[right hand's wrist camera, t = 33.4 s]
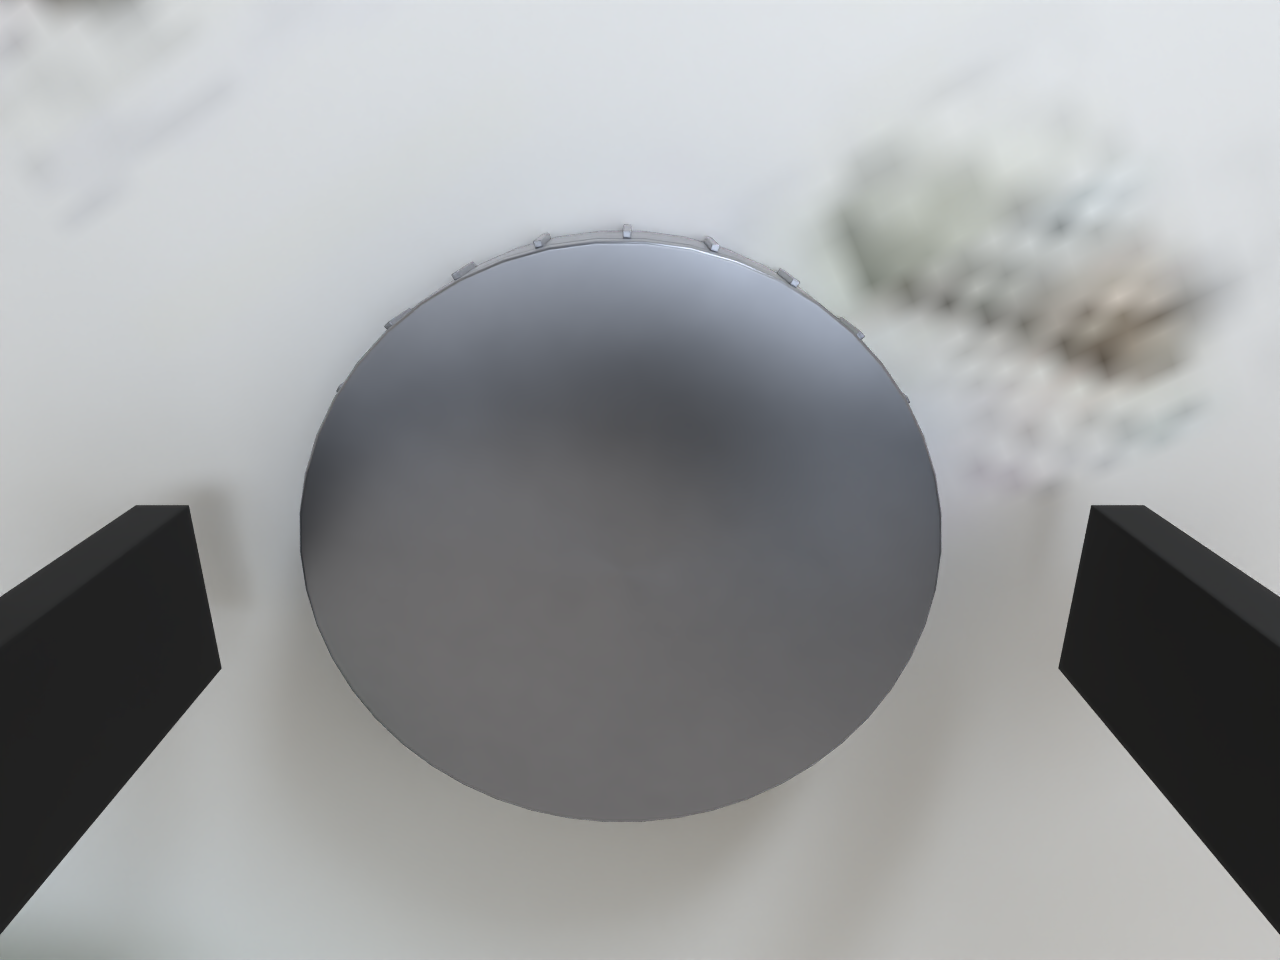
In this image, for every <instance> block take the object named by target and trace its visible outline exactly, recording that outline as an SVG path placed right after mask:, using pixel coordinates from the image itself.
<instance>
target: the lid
mask: <svg viewBox="0 0 1280 960" xmlns="http://www.w3.org/2000/svg"><path fill="white" fill-rule="evenodd" d="M533 243H534V244H530V245H526V246H523V247H519V248H517V249H514V250H512V251H510V252H507V253H505V254H503V255H500V256H498V257H496V258H493V259H491V260H489V261H487V262H484V263H482V264H480V265H478V266H475V264H474V262H471V263H469V264H468V265H466V266H464V267H463V268H461V269H460V270H458V271H456V272H455V273H453V274H452V277H453V279H454V281H452V282H450V283H449V284H447V285H445V286H444V287H442V288H441V289H439V290H438V291H436V292H435V293H433V294H432V295H430V296H429V297H428V298H426V299H424V300H423V301H421V302H420V303H419V304H418V305H416V306H415V307H414V308H413V309H412V310H411V309H410V308H409V309H407V310H406V311H404V312H403V313H401V314H400V315H398V316H397V317H395V318H394V319H392V320H391V321H389V322H388V323H387V324H386V325H385V326H384V327H385V328H386V329H387V330H386V331H385V333H384V334H383V335H382V336H381V337H380V338H379V339H378V340H377V341H376V342H375V344H374V345H373V346H372V347H371V348H370V349H369V350H368V351H367V352H366V354H365V355H364V356H363V357H362V358H361V359H360V360H359V361H358V362H357V364H356V365H355V367H354V368H353V370H352V371H351V373H350V374H349V376H348V377H347V379H346V380H345V382H344V383H342V384H341V385H340V386H339V387H338V389H337V394H336V395H335V397H334V399H333V401H332V403H331V405H330V407H329V409H328V412H327V414H326V416H325V418H324V420H323V422H322V424H321V427H320V429H319V431H318V433H317V435H316V439H315V442H314V445H313V449H312V452H311V455H310V459H309V462H308V466H307V469H306V472H305V478H304V486H303V493H302V500H301V507H300V553H301V560H302V566H303V573H304V579H305V586H306V591H307V594H308V597H309V600H310V604H311V607H312V610H313V614H314V617H315V620H316V624H317V626H318V628H319V631H320V633H321V635H322V637H323V639H324V641H325V644H326V646H327V648H328V650H329V652H330V654H331V657H332V659H333V660H334V662H335V664H336V665H337V667H338V668H339V670H340V671H341V673H342V675H343V676H344V678H345V679H346V681H347V683H348V684H349V686H350V687H351V689H352V690H353V692H354V693H355V694H356V695H357V696H358V698H359V699H360V700H361V701H362V702H363V704H364V705H365V706H366V707H367V709H368V710H369V711H370V712H371V713H372V715H373V716H374V717H375V718H376V719H377V720H378V721H379V722H380V723H381V724H382V725H383V726H384V727H385V728H386V729H387V730H388V731H389V732H390V733H392V734H393V735H394V736H395V737H396V738H397V739H398V740H399V741H400V742H401V743H402V744H403V745H405V746H406V747H407V748H409V749H410V750H411V751H413V752H414V753H415V754H417V755H418V756H419V757H421V758H422V759H423V760H425V761H426V762H427V763H429V764H430V765H431V766H433V767H435V768H436V769H438V770H440V771H442V772H443V773H445V774H447V775H448V776H450V777H452V778H454V779H455V780H457V781H459V782H460V783H462V784H464V785H466V786H468V787H471V788H473V789H475V790H477V791H480V792H482V793H484V794H486V795H489V796H491V797H493V798H495V799H498V800H501V801H504V802H507V803H510V804H513V805H517V806H520V807H523V808H526V809H529V810H532V811H537V812H542V813H546V814H551V815H556V816H561V817H566V818H573V819H583V820H592V821H602V822H643V821H652V820H662V819H671V818H679V817H684V816H689V815H693V814H698V813H703V812H707V811H712V810H716V809H719V808H722V807H725V806H728V805H731V804H734V803H737V802H740V801H743V800H746V799H749V798H751V797H754V796H756V795H758V794H760V793H762V792H765V791H767V790H769V789H771V788H773V787H776V786H778V785H780V784H782V783H784V782H786V781H787V780H789V779H791V778H792V777H794V776H796V775H797V774H799V773H801V772H802V771H804V770H806V769H807V768H809V767H811V766H813V765H814V764H815V763H817V762H818V761H819V760H821V759H822V758H823V757H824V756H826V755H827V754H828V753H830V752H831V751H832V750H834V749H835V748H836V747H838V746H839V745H840V744H842V743H843V742H844V741H845V740H846V739H847V738H848V737H849V736H850V735H851V734H852V733H853V732H854V731H855V730H856V729H857V728H858V727H859V726H860V725H861V724H862V723H863V722H864V721H866V720H867V719H868V718H869V716H870V715H871V714H872V713H873V711H874V710H875V709H876V708H877V706H878V705H879V704H880V703H881V701H882V700H883V699H884V698H885V697H886V695H887V694H888V693H889V692H890V690H891V689H892V687H893V686H894V684H895V682H896V681H897V679H898V678H899V676H900V674H901V673H902V671H903V669H904V668H905V666H906V665H907V663H908V661H909V660H910V658H911V656H912V654H913V651H914V649H915V647H916V645H917V642H918V640H919V638H920V636H921V633H922V631H923V629H924V627H925V624H926V621H927V617H928V614H929V611H930V607H931V604H932V600H933V597H934V593H935V590H936V584H937V577H938V570H939V563H940V556H941V508H940V502H939V495H938V488H937V481H936V475H935V471H934V468H933V465H932V461H931V458H930V455H929V451H928V448H927V445H926V442H925V438H924V435H923V433H922V431H921V429H920V427H919V425H918V423H917V421H916V419H915V416H914V414H913V412H912V410H911V408H910V406H909V404H908V403H910V401H909V399H908V397H907V396H906V395H905V394H903V393H902V392H901V390H900V389H899V387H898V386H897V384H896V383H895V381H894V380H893V378H892V377H891V375H890V374H889V373H888V371H887V370H886V368H885V367H884V365H883V364H882V362H881V361H880V360H879V359H878V358H877V357H876V356H875V355H874V354H873V353H872V351H871V350H870V349H869V348H868V347H867V346H866V345H865V344H864V343H863V342H862V340H861V339H863V338H864V337H865V336H864V335H863V334H862V333H861V331H859V330H858V329H857V328H855V327H854V326H853V325H852V324H850V323H849V322H848V321H846V320H845V319H844V318H842V317H841V318H840V319H838V318H837V317H835V316H834V315H833V314H832V313H830V312H829V311H828V310H827V309H826V308H824V307H823V306H822V305H821V304H820V303H818V302H817V301H816V300H814V299H813V298H812V297H811V296H809V295H808V294H807V293H806V292H804V291H803V290H802V289H801V288H799V287H798V285H799V283H800V282H799V281H798V280H797V279H795V278H794V277H793V276H791V275H790V274H789V273H787V272H786V271H784V270H783V269H781V268H780V269H779V271H778V273H775V272H774V271H772V270H770V269H769V268H767V267H766V266H764V265H762V264H760V263H757V262H755V261H753V260H751V259H748V258H746V257H744V256H741V255H739V254H737V253H735V252H732V251H730V250H728V249H725V248H722V247H720V246H719V245H718V243H717V242H716V241H715V240H714V239H713V238H710V237H707V236H706V237H705V240H704V242H701V241H697V240H694V239H690V238H687V237H681V236H674V235H667V234H660V233H653V232H646V231H631V225H624V227H623V231H597V232H589V233H582V234H574V235H567V236H559V237H555V238H552V239H550V235H549V233H546V234H542V235H541V236H540V237H539V238H537V239H536V240H535V241H534V242H533Z"/></svg>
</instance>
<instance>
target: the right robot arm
mask: <svg viewBox="0 0 1280 960" xmlns="http://www.w3.org/2000/svg"><path fill="white" fill-rule="evenodd" d="M220 670H221V663H220V658H219V653H218V648H217V643H216V638H215V633H214V628H213V623H212V619H211V614H210V609H209V604H208V599H207V594H206V589H205V584H204V579H203V574H202V569H201V564H200V559H199V554H198V549H197V544H196V539H195V534H194V529H193V524H192V519H191V514H190V509H189V505H136V506H134V507H133V508H131V509H130V510H128V511H127V512H125V513H124V514H122V515H121V516H120V517H118V518H117V519H115V520H114V521H112V522H111V523H109V524H108V525H106V526H105V527H103V528H102V529H100V530H99V531H97V532H96V533H94V534H93V535H91V536H90V537H88V538H87V539H85V540H84V541H82V542H81V543H80V544H78V545H77V546H75V547H74V548H72V549H71V550H69V551H68V552H66V553H65V554H63V555H62V556H60V557H59V558H57V559H56V560H54V561H53V562H51V563H50V564H48V565H47V566H45V567H44V568H43V569H41V570H40V571H38V572H37V573H35V574H34V575H32V576H31V577H29V578H28V579H26V580H25V581H23V582H22V583H20V584H19V585H17V586H16V587H14V588H13V589H11V590H10V591H8V592H7V593H5V594H4V595H3V596H1V597H0V934H1V933H2V932H3V931H4V929H5V928H6V927H7V926H8V925H9V923H10V922H11V921H12V920H13V918H14V917H15V916H16V915H17V914H18V912H19V911H20V910H21V909H22V908H23V906H24V905H25V904H26V903H27V902H28V900H29V899H30V898H31V897H32V896H33V894H34V893H35V892H36V891H37V890H38V888H39V887H40V886H41V885H42V884H43V882H44V881H45V880H46V879H47V878H48V876H49V875H50V874H51V873H52V872H53V870H54V869H55V868H56V867H57V866H58V864H59V863H60V862H61V861H62V860H63V858H64V857H65V856H66V855H67V854H68V852H69V851H70V850H71V849H72V848H73V846H74V845H75V844H76V843H77V842H78V840H79V839H80V838H81V837H82V836H83V834H84V833H85V832H86V831H87V829H88V828H89V827H90V826H91V825H92V823H93V822H94V821H95V820H96V819H97V817H98V816H99V815H100V814H101V813H102V811H103V810H104V809H105V808H106V807H107V805H108V804H109V803H110V802H111V801H112V799H113V798H114V797H115V796H116V795H117V793H118V792H119V791H120V790H121V789H122V787H123V786H124V785H125V784H126V783H127V781H128V780H129V779H130V778H131V777H132V775H133V774H134V773H135V772H136V771H137V769H138V768H139V767H140V766H141V765H142V763H143V762H144V761H145V760H146V759H147V757H148V756H149V755H150V754H151V753H152V751H153V750H154V749H155V748H156V747H157V745H158V744H159V743H160V742H161V740H162V739H163V738H164V737H165V736H166V734H167V733H168V732H169V731H170V730H171V728H172V727H173V726H174V725H175V724H176V722H177V721H178V720H179V719H180V718H181V716H182V715H183V714H184V713H185V712H186V710H187V709H188V708H189V707H190V706H191V704H192V703H193V702H194V701H195V700H196V698H197V697H198V696H199V695H200V694H201V692H202V691H203V690H204V689H205V688H206V686H207V685H208V684H209V683H210V682H211V680H212V679H213V678H214V677H215V676H216V674H217V673H218V672H219V671H220ZM1059 670H1060V671H1061V672H1062V673H1063V674H1064V676H1065V677H1066V678H1067V679H1068V680H1069V682H1070V683H1071V684H1072V685H1073V686H1074V688H1075V689H1076V690H1077V691H1078V692H1079V694H1080V695H1081V696H1082V697H1083V698H1084V700H1085V701H1086V702H1087V703H1088V704H1089V706H1090V707H1091V708H1092V709H1093V710H1094V712H1095V713H1096V714H1097V715H1098V716H1099V718H1100V719H1101V720H1102V721H1103V722H1104V724H1105V725H1106V726H1107V727H1108V728H1109V730H1110V731H1111V732H1112V733H1113V734H1114V736H1115V737H1116V738H1117V739H1118V740H1119V742H1120V743H1121V744H1122V745H1123V747H1124V748H1125V749H1126V750H1127V751H1128V753H1129V754H1130V755H1131V756H1132V757H1133V759H1134V760H1135V761H1136V762H1137V763H1138V765H1139V766H1140V767H1141V768H1142V769H1143V771H1144V772H1145V773H1146V774H1147V775H1148V777H1149V778H1150V779H1151V780H1152V781H1153V783H1154V784H1155V785H1156V786H1157V787H1158V789H1159V790H1160V791H1161V792H1162V793H1163V795H1164V796H1165V797H1166V798H1167V799H1168V801H1169V802H1170V803H1171V804H1172V805H1173V807H1174V808H1175V809H1176V810H1177V811H1178V813H1179V814H1180V815H1181V816H1182V817H1183V819H1184V820H1185V821H1186V822H1187V823H1188V825H1189V826H1190V827H1191V828H1192V829H1193V831H1194V832H1195V833H1196V834H1197V836H1198V837H1199V838H1200V839H1201V840H1202V842H1203V843H1204V844H1205V845H1206V846H1207V848H1208V849H1209V850H1210V851H1211V852H1212V854H1213V855H1214V856H1215V857H1216V858H1217V860H1218V861H1219V862H1220V863H1221V864H1222V866H1223V867H1224V868H1225V869H1226V870H1227V872H1228V873H1229V874H1230V875H1231V876H1232V878H1233V879H1234V880H1235V881H1236V882H1237V884H1238V885H1239V886H1240V887H1241V888H1242V890H1243V891H1244V892H1245V893H1246V894H1247V896H1248V897H1249V898H1250V899H1251V900H1252V902H1253V903H1254V904H1255V905H1256V906H1257V908H1258V909H1259V910H1260V911H1261V912H1262V914H1263V915H1264V916H1265V917H1266V918H1267V920H1268V921H1269V922H1270V923H1271V925H1272V926H1273V927H1274V928H1275V929H1276V931H1277V932H1278V933H1279V934H1280V597H1279V596H1277V595H1276V594H1275V593H1273V592H1272V591H1270V590H1269V589H1267V588H1266V587H1264V586H1263V585H1261V584H1260V583H1258V582H1257V581H1255V580H1254V579H1252V578H1251V577H1249V576H1248V575H1246V574H1245V573H1243V572H1242V571H1240V570H1239V569H1237V568H1236V567H1235V566H1233V565H1232V564H1230V563H1229V562H1227V561H1226V560H1224V559H1223V558H1221V557H1220V556H1218V555H1217V554H1215V553H1214V552H1212V551H1211V550H1209V549H1208V548H1206V547H1205V546H1203V545H1202V544H1200V543H1199V542H1198V541H1196V540H1195V539H1193V538H1192V537H1190V536H1189V535H1187V534H1186V533H1184V532H1183V531H1181V530H1180V529H1178V528H1177V527H1175V526H1174V525H1172V524H1171V523H1169V522H1168V521H1166V520H1165V519H1163V518H1162V517H1160V516H1159V515H1158V514H1156V513H1155V512H1153V511H1152V510H1150V509H1149V508H1147V507H1146V506H1144V505H1091V509H1090V514H1089V519H1088V524H1087V529H1086V534H1085V539H1084V544H1083V549H1082V554H1081V559H1080V564H1079V569H1078V574H1077V579H1076V584H1075V589H1074V594H1073V599H1072V604H1071V609H1070V614H1069V619H1068V623H1067V628H1066V633H1065V638H1064V643H1063V648H1062V653H1061V658H1060V663H1059Z"/></svg>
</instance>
